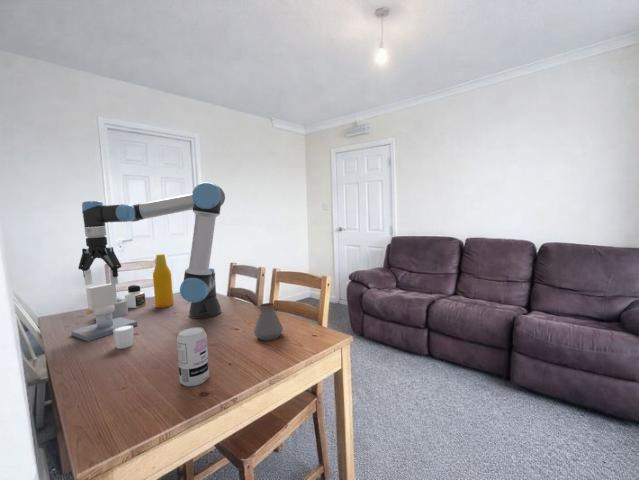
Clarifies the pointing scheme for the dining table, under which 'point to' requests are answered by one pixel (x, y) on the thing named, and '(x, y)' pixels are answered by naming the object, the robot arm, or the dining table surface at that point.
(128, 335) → the shot glass
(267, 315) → the coffee pot
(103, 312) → the white round-based slab
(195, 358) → the supplement can
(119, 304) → the lumpy-topped squat cylinder
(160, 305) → the beer bottle
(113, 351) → the dining table surface
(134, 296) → the medicine bottle
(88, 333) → the post plinth
